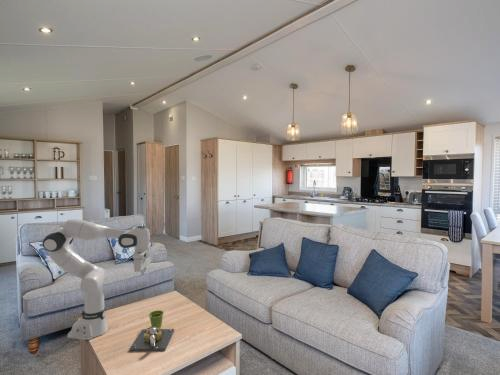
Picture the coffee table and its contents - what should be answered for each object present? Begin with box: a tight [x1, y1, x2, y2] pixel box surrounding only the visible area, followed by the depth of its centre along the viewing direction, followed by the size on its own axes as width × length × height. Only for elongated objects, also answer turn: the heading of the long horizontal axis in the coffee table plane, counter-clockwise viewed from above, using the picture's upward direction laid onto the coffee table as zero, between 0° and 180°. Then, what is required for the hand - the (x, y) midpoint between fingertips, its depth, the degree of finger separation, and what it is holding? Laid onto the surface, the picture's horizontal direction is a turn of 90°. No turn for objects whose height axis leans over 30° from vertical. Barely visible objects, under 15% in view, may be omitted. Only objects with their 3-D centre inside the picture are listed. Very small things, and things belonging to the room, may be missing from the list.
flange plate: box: [129, 326, 175, 352], centre depth 173 cm, size 20×20×8 cm
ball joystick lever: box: [144, 327, 162, 347], centre depth 170 cm, size 16×10×6 cm, turn 17°
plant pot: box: [148, 309, 165, 329], centre depth 189 cm, size 9×9×9 cm
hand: (143, 274), depth 180 cm, fingers closed
